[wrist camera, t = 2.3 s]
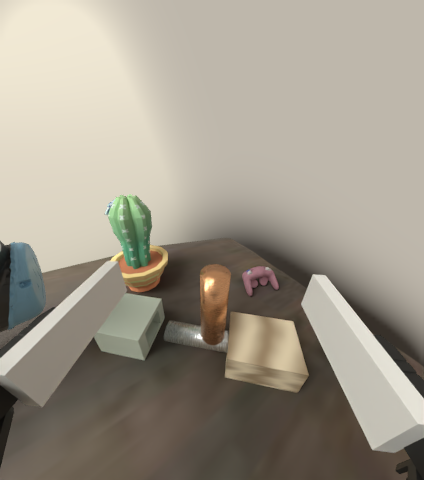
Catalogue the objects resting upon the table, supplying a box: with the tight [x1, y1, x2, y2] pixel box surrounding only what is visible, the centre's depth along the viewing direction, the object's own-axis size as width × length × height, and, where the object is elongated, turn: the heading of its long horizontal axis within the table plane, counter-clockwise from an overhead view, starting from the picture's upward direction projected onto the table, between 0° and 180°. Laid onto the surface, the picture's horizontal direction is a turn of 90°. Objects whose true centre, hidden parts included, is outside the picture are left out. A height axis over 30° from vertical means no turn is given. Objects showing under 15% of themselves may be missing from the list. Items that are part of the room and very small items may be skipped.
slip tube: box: [164, 264, 231, 353], centre depth 28 cm, size 22×4×18 cm, turn 80°
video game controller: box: [242, 266, 279, 296], centre depth 47 cm, size 10×5×7 cm, turn 107°
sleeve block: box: [225, 312, 309, 393], centre depth 30 cm, size 12×9×6 cm
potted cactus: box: [105, 194, 168, 292], centre depth 43 cm, size 15×15×25 cm
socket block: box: [94, 293, 165, 361], centre depth 33 cm, size 9×9×6 cm
